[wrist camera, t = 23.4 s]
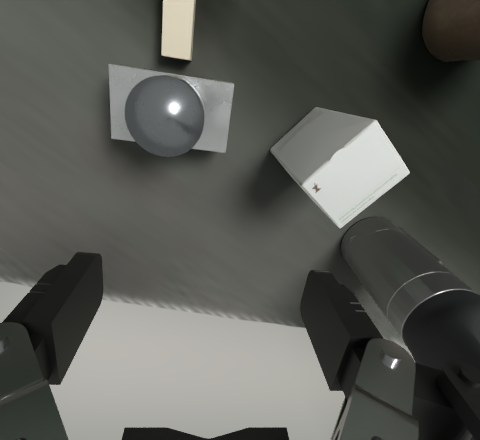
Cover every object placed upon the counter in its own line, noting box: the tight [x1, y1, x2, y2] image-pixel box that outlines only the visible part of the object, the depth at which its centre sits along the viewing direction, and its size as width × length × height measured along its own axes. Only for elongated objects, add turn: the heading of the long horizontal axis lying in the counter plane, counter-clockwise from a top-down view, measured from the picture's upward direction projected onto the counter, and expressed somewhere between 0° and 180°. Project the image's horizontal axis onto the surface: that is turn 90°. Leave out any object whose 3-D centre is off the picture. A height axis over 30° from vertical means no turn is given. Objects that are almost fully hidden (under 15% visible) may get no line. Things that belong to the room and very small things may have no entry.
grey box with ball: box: [109, 64, 234, 157], centre depth 32 cm, size 12×7×12 cm, turn 82°
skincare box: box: [270, 107, 410, 228], centre depth 33 cm, size 8×7×16 cm
